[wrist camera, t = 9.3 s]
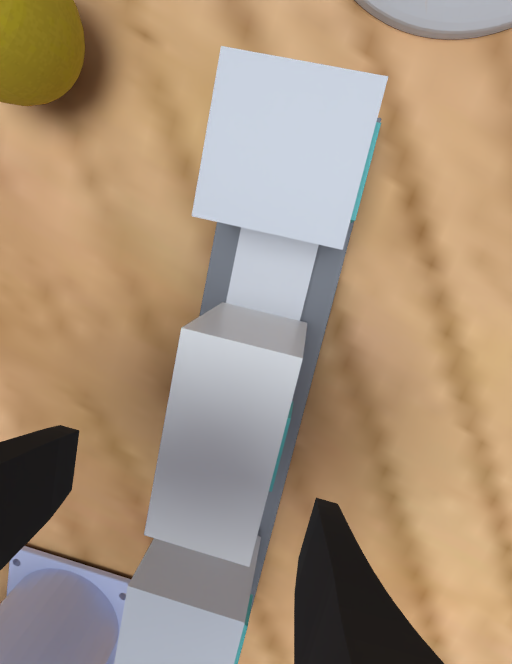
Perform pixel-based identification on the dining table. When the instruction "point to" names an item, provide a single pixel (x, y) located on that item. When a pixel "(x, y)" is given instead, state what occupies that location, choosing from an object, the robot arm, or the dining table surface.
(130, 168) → the dining table surface
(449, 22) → the candlestick
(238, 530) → the block
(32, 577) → the robot arm
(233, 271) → the board
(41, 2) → the lemon
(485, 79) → the dining table surface
